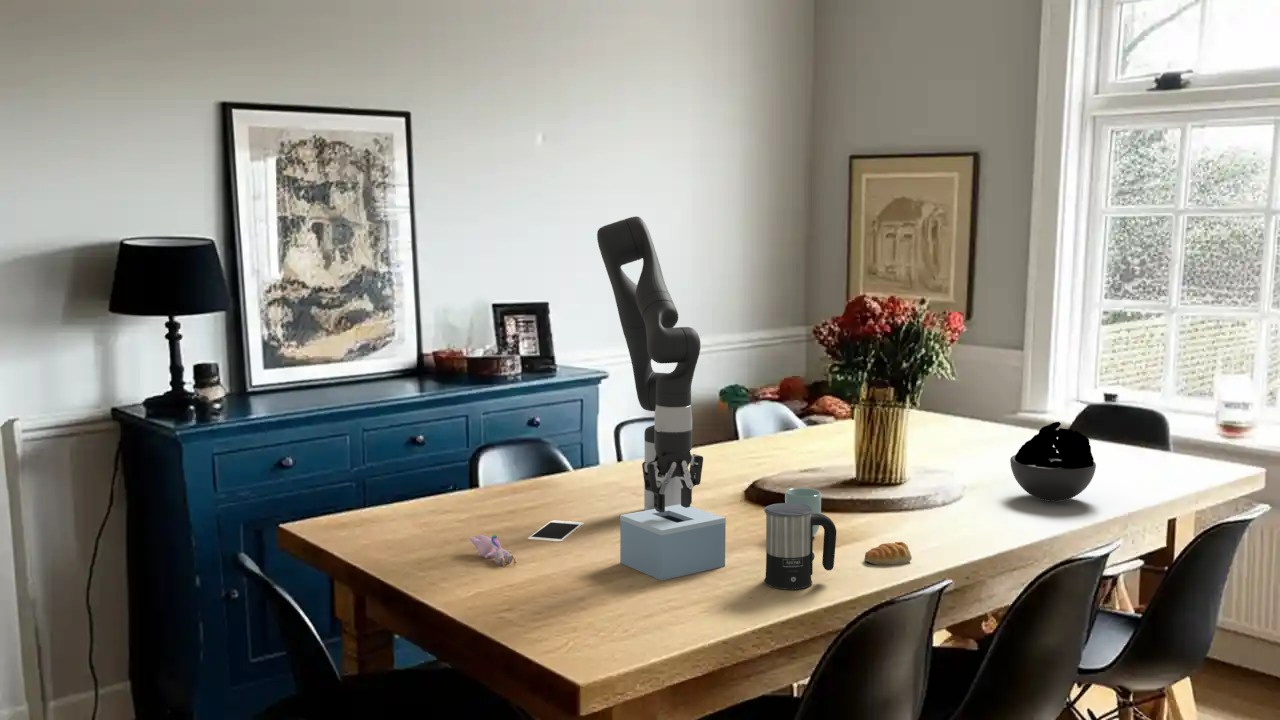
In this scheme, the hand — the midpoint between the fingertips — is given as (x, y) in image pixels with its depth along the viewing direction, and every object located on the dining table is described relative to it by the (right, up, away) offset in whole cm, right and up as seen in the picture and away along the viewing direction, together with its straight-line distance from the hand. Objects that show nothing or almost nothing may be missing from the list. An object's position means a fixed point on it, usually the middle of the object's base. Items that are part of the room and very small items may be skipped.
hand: (672, 508), depth 236 cm
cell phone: (-25, -9, +26) cm, 38 cm away
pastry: (+45, -12, +5) cm, 46 cm away
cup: (+29, -9, +22) cm, 38 cm away
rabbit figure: (-37, -11, +6) cm, 39 cm away
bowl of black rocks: (+96, -5, +55) cm, 110 cm away
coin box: (0, -11, +1) cm, 12 cm away
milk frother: (+23, -13, -6) cm, 27 cm away
